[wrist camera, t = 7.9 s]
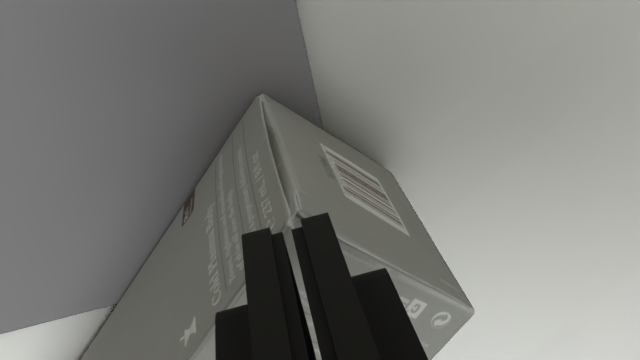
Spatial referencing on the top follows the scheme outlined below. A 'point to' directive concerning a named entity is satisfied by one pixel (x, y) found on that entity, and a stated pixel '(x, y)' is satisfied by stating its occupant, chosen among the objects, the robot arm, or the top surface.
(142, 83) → the mat
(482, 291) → the top surface
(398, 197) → the skincare box
